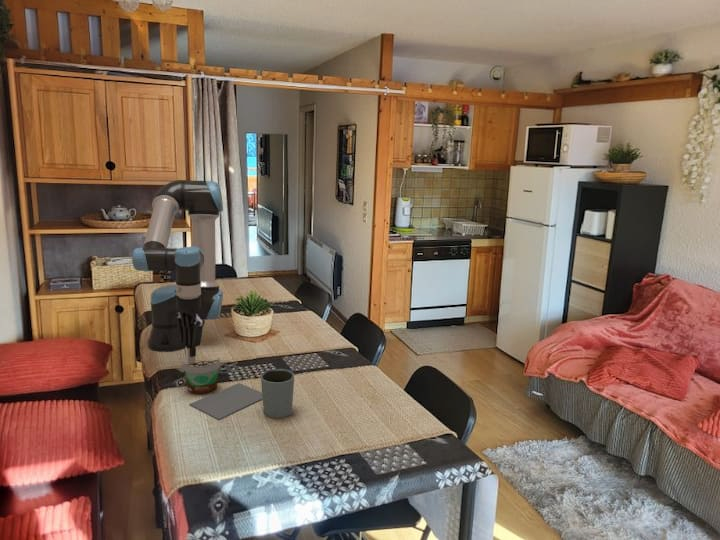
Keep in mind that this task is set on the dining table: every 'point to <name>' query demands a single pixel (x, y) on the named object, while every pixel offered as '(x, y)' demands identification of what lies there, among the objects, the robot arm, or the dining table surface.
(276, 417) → the grey green cup
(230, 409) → the mat
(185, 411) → the dining table surface
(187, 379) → the food container
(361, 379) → the dining table surface
